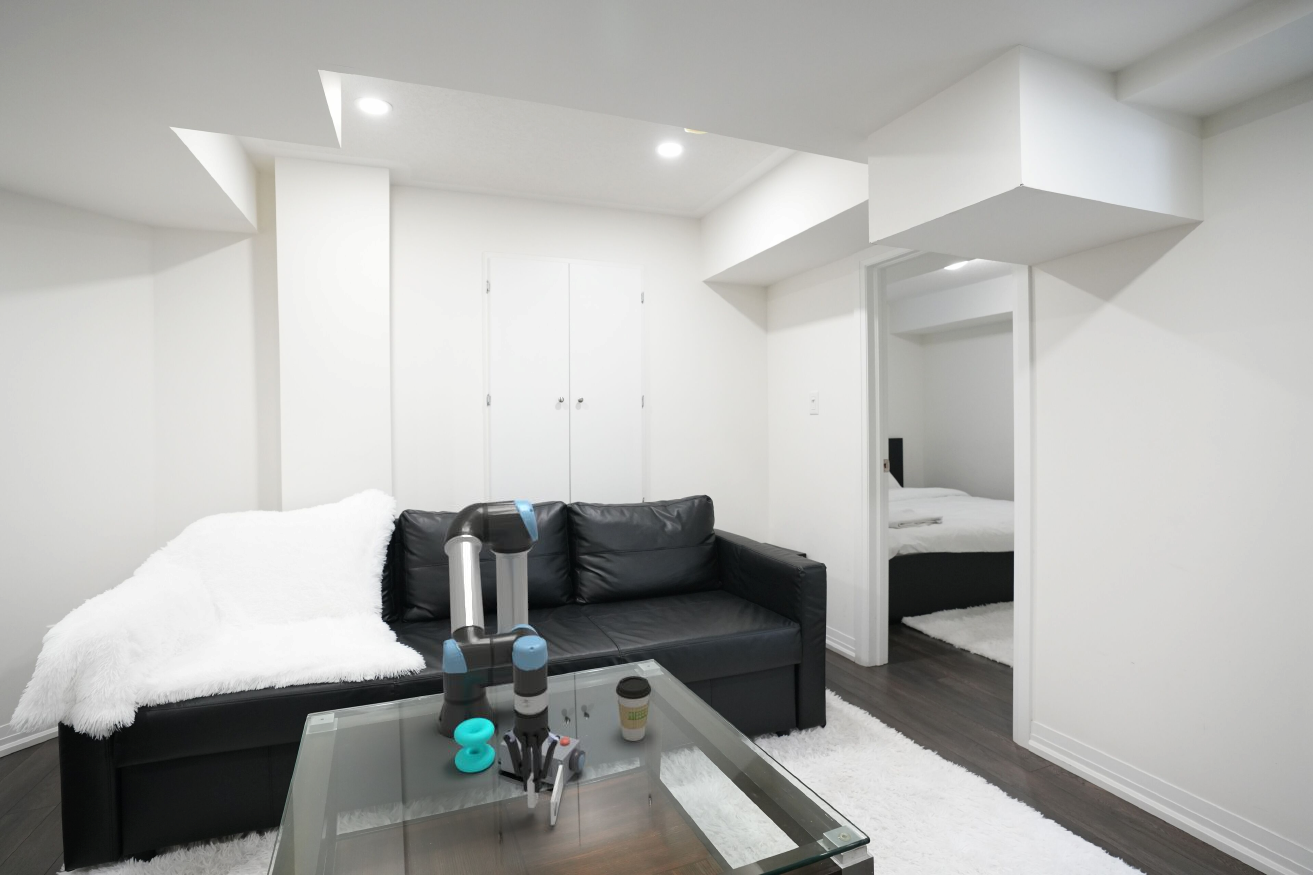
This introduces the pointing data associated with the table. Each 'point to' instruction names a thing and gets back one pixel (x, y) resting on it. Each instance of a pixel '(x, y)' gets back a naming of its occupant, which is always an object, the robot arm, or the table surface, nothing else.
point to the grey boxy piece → (563, 752)
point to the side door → (556, 792)
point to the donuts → (474, 745)
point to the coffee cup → (633, 706)
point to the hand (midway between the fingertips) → (533, 803)
